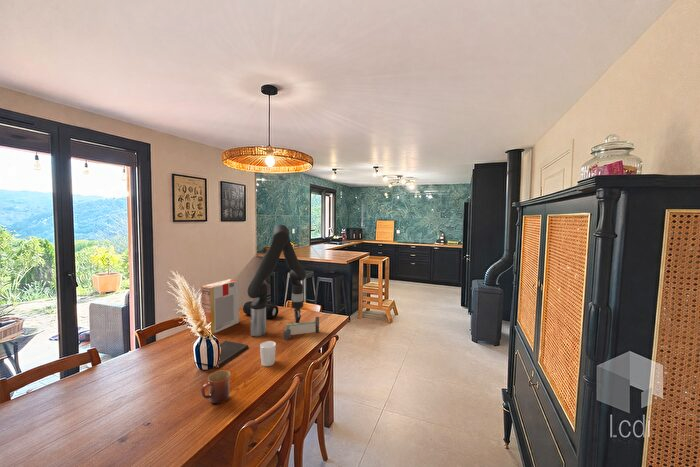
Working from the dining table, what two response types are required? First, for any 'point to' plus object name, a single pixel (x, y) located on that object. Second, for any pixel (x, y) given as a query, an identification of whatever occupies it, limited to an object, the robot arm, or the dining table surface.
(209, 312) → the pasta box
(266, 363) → the white cup
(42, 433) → the dining table surface
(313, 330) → the gate
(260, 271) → the robot arm
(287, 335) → the latch block
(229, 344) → the hardcover book
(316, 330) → the hinge post
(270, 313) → the portable speaker
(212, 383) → the mug
